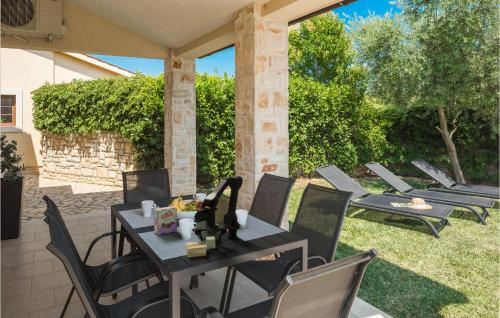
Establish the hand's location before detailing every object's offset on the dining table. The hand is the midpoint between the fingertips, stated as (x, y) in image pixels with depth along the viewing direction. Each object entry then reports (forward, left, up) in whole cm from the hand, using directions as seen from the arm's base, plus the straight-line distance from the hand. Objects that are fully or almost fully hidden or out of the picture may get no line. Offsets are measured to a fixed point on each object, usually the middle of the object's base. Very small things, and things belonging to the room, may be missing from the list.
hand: (210, 244), depth 202 cm
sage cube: (0, 0, -1) cm, 1 cm away
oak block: (+9, -9, -1) cm, 13 cm away
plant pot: (-49, +11, -1) cm, 50 cm away
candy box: (-31, -27, -1) cm, 41 cm away
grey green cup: (-18, -3, -1) cm, 18 cm away
